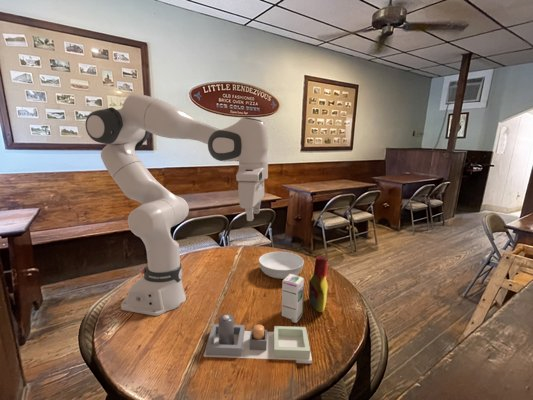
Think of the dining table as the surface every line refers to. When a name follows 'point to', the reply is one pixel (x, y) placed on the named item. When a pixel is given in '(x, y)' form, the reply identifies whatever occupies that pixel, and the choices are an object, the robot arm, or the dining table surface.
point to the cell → (226, 329)
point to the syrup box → (292, 297)
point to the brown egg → (258, 332)
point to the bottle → (318, 284)
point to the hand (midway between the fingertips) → (253, 216)
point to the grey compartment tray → (262, 344)
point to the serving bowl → (280, 264)
